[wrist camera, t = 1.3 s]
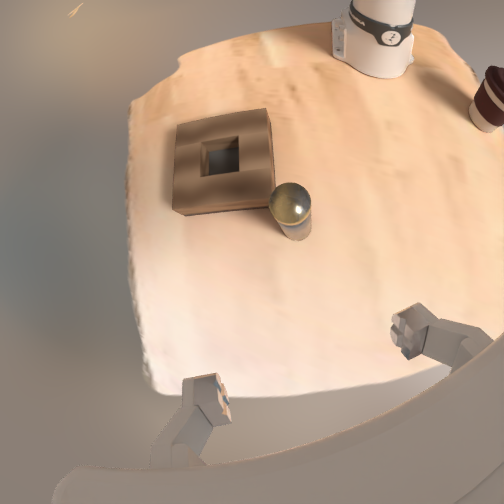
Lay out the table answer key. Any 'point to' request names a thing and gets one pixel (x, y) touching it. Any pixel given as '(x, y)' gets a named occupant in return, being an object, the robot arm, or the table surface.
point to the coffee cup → (489, 101)
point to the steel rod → (292, 210)
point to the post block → (224, 164)
